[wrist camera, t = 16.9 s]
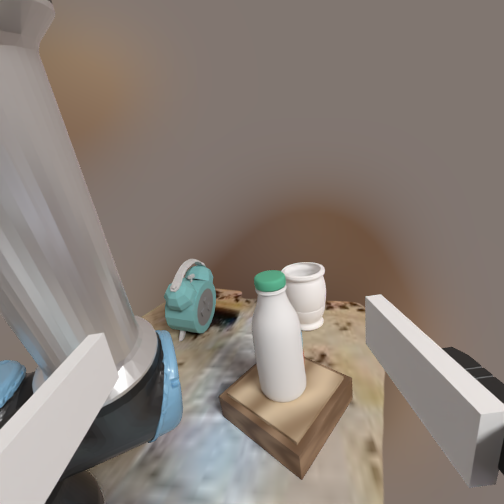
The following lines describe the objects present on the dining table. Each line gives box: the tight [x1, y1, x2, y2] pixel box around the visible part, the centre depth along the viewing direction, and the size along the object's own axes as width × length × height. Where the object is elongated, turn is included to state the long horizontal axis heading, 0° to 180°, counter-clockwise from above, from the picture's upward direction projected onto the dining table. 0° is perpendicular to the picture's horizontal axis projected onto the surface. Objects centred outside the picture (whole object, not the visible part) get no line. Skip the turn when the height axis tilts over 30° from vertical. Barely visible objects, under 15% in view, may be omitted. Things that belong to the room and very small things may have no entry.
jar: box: [282, 262, 326, 331], centre depth 67 cm, size 11×10×15 cm
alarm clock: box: [164, 259, 216, 341], centre depth 71 cm, size 17×10×20 cm, turn 165°
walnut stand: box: [219, 357, 352, 480], centre depth 45 cm, size 16×16×5 cm
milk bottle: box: [252, 270, 306, 403], centre depth 41 cm, size 8×8×20 cm
